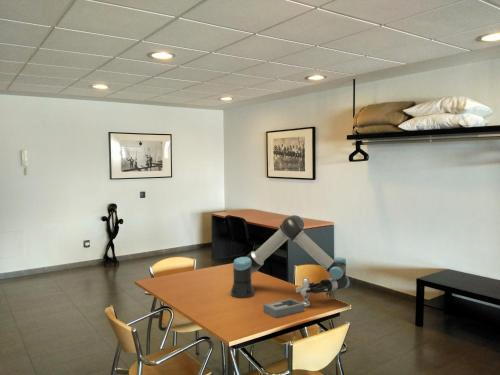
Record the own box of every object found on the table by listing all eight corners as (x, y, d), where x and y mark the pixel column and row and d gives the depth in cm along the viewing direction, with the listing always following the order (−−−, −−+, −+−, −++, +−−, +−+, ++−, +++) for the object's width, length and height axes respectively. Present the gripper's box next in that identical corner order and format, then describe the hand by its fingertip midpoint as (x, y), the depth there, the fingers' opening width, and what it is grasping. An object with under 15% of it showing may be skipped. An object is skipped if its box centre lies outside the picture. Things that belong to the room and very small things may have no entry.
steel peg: (301, 304, 240) (301, 277, 239) (310, 304, 239) (310, 277, 239) (301, 306, 235) (301, 279, 234) (310, 307, 234) (310, 280, 234)
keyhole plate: (291, 305, 239) (291, 298, 239) (304, 310, 229) (304, 304, 228) (263, 311, 228) (263, 304, 228) (275, 317, 218) (275, 310, 218)
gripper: (338, 294, 239) (308, 301, 227) (318, 287, 254) (289, 293, 241) (338, 282, 239) (308, 288, 226) (319, 276, 253) (289, 281, 241)
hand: (298, 291), depth 234 cm, fingers closed on steel peg, 4 cm apart
